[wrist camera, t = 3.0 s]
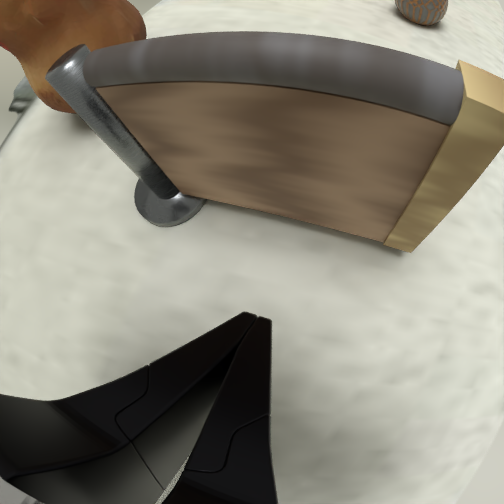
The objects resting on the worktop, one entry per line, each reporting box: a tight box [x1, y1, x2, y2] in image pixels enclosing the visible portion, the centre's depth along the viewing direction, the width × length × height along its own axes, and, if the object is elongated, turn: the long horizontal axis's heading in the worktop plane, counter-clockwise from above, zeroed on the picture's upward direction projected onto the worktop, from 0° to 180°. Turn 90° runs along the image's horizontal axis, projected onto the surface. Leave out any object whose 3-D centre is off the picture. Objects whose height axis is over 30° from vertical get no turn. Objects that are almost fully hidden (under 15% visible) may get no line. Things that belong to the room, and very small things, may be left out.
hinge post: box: [45, 44, 207, 227], centre depth 16 cm, size 6×6×14 cm
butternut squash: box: [0, 0, 146, 113], centre depth 17 cm, size 14×13×25 cm
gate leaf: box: [83, 31, 504, 253], centre depth 13 cm, size 15×2×12 cm, turn 71°
